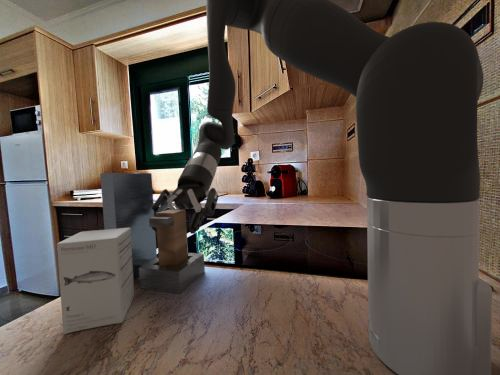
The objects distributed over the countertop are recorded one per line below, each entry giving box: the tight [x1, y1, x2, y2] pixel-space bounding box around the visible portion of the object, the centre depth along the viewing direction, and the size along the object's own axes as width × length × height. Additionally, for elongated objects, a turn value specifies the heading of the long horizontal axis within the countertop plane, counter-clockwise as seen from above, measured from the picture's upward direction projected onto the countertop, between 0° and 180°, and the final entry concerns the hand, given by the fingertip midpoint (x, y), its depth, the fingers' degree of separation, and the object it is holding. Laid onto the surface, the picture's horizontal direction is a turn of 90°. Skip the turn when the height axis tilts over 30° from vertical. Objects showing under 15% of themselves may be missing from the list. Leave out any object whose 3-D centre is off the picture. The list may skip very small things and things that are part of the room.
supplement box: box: [56, 228, 135, 335], centre depth 33 cm, size 7×7×13 cm
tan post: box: [149, 209, 189, 267], centre depth 42 cm, size 4×6×14 cm
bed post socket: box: [99, 172, 206, 295], centre depth 44 cm, size 16×10×22 cm, turn 73°
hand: (172, 230), depth 43 cm, fingers open, 8 cm apart
